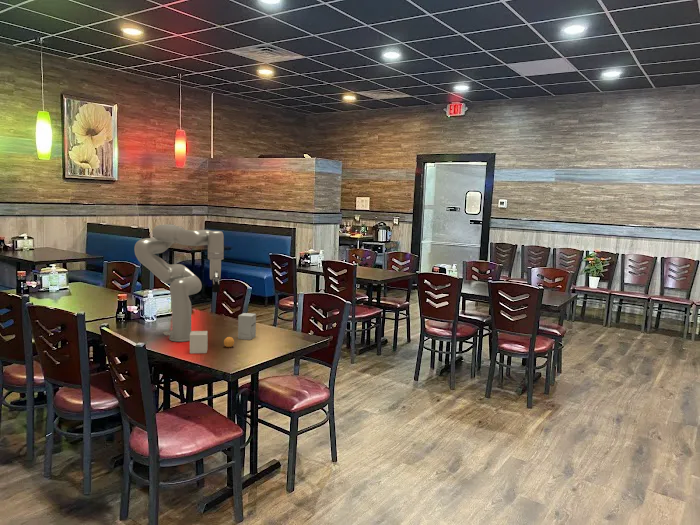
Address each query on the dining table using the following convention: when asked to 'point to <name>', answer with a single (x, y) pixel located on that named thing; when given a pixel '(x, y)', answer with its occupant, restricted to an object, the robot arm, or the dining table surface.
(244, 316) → the supplement box
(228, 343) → the ball
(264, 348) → the dining table surface
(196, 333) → the gray block
